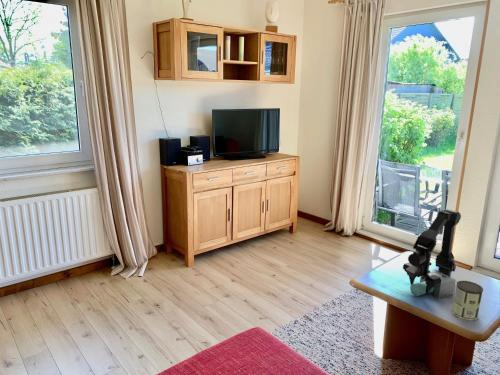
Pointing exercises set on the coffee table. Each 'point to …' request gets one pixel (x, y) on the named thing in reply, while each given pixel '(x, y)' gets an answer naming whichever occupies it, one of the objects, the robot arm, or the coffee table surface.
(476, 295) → the coffee can
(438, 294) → the housing
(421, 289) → the pale green cylinder
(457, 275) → the coffee table surface
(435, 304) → the coffee table surface
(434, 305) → the coffee table surface
